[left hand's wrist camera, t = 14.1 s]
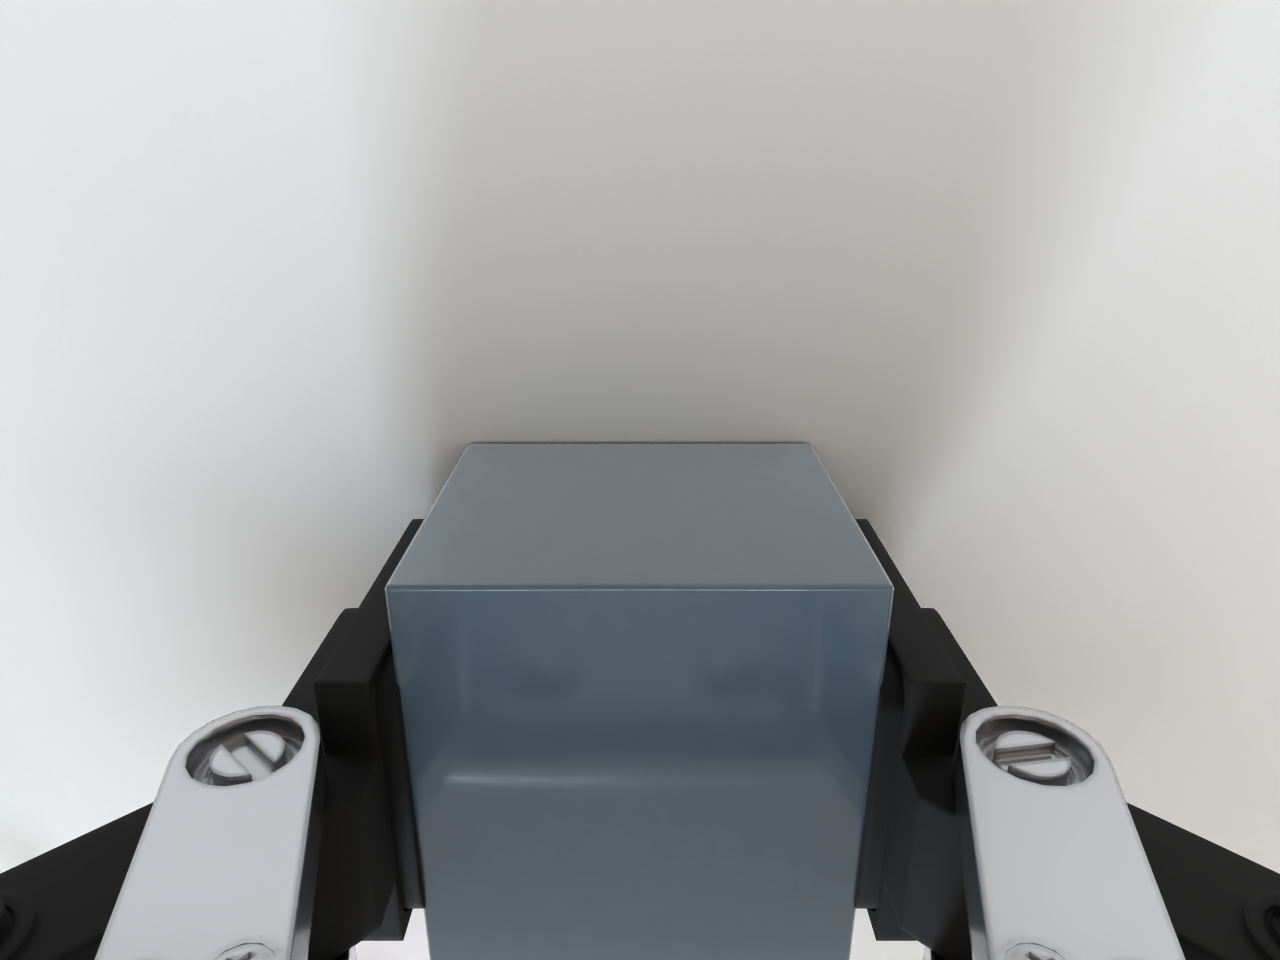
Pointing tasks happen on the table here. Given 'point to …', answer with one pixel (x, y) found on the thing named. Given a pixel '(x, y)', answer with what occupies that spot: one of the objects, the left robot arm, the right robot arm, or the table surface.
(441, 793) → the block
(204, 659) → the table surface
